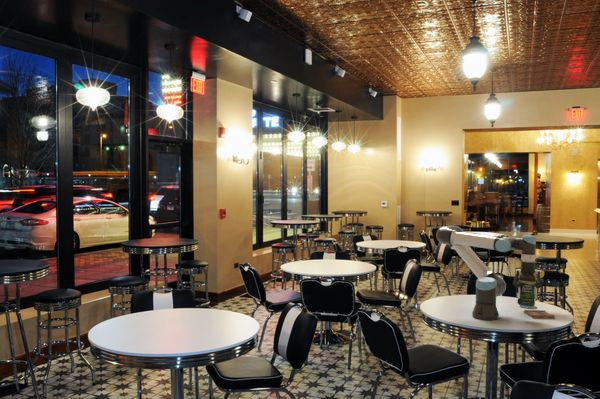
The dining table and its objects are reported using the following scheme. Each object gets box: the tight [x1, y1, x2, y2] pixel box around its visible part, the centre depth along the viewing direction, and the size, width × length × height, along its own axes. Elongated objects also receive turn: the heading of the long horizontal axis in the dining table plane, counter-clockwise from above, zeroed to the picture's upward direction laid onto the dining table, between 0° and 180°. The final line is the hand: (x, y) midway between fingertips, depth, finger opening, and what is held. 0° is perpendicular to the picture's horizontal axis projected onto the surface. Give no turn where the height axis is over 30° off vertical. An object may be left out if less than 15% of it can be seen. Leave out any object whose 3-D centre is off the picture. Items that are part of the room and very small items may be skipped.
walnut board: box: [523, 309, 556, 319], centre depth 313 cm, size 13×13×2 cm
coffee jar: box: [516, 274, 537, 306], centre depth 305 cm, size 10×8×19 cm
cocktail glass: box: [513, 267, 545, 310], centre depth 336 cm, size 18×18×25 cm
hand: (526, 298), depth 305 cm, fingers closed on coffee jar, 9 cm apart
